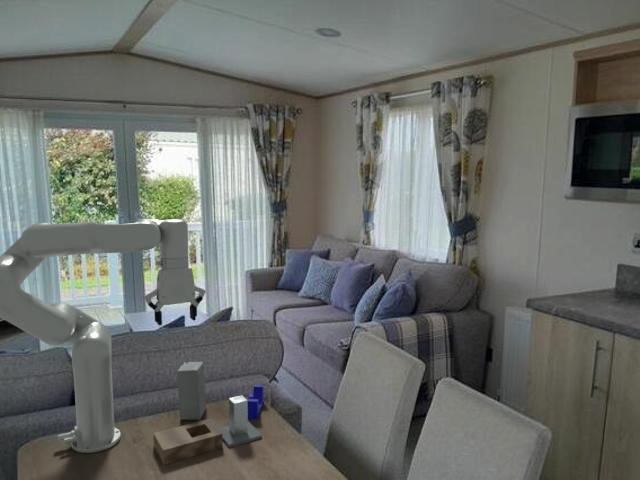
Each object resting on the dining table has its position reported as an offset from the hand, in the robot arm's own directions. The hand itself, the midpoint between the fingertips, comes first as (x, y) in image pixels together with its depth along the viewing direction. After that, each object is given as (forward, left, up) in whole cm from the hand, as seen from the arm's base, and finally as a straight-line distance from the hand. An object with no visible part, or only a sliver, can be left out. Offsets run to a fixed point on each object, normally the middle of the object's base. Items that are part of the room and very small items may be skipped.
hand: (176, 321), depth 143 cm
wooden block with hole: (-1, -12, -32) cm, 34 cm away
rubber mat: (+14, -13, -32) cm, 37 cm away
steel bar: (+13, -13, -32) cm, 37 cm away
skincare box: (+6, +6, -32) cm, 34 cm away
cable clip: (+24, -1, -33) cm, 40 cm away
